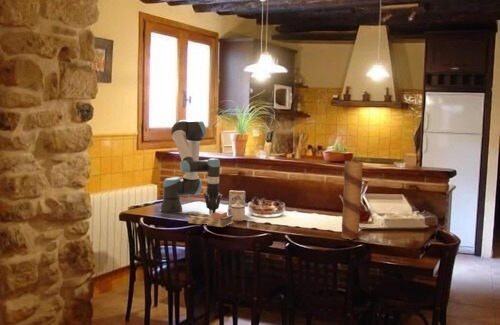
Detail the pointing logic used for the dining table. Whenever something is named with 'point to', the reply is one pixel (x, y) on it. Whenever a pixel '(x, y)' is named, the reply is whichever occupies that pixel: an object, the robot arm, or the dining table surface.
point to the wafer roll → (351, 199)
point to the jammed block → (219, 215)
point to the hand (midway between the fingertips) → (212, 219)
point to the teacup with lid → (237, 211)
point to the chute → (210, 220)
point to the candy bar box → (236, 198)
